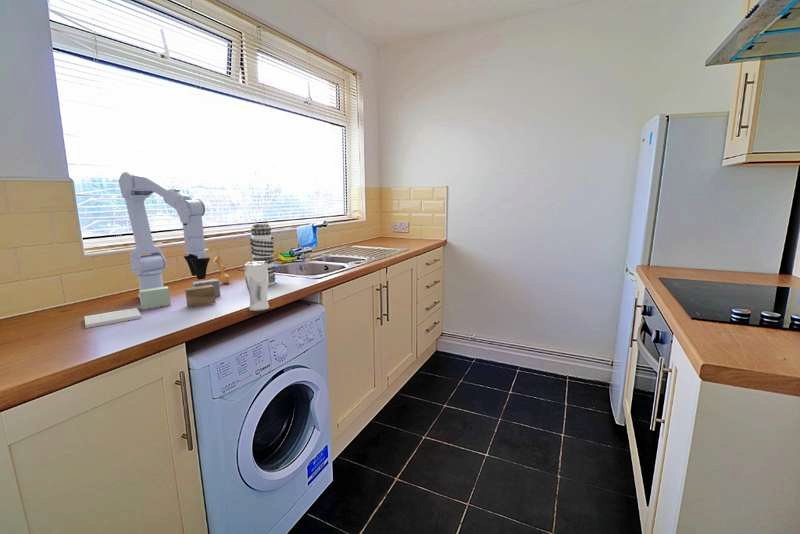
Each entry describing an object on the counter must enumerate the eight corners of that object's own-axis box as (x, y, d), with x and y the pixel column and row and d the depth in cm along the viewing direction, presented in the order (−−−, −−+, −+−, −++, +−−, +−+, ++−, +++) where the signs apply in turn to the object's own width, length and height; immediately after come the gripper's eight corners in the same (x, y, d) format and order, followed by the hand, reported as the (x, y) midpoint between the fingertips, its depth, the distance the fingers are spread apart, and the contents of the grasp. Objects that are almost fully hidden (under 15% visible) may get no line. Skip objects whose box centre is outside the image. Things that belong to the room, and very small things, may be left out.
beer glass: (264, 304, 127) (261, 260, 125) (274, 308, 122) (271, 263, 120) (244, 308, 123) (240, 263, 120) (253, 313, 118) (249, 266, 115)
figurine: (225, 285, 154) (222, 256, 152) (211, 285, 154) (208, 256, 152) (235, 281, 162) (232, 253, 160) (222, 281, 162) (219, 253, 160)
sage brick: (141, 307, 125) (138, 290, 124) (169, 303, 130) (166, 286, 129) (142, 310, 122) (140, 292, 121) (170, 305, 127) (168, 288, 126)
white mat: (84, 319, 113) (84, 316, 113) (137, 310, 121) (136, 307, 121) (85, 328, 105) (85, 324, 105) (141, 318, 114) (140, 315, 113)
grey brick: (194, 298, 136) (192, 282, 135) (217, 294, 141) (216, 278, 140) (196, 300, 133) (194, 283, 132) (220, 296, 138) (218, 280, 137)
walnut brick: (187, 305, 126) (185, 288, 125) (212, 301, 132) (211, 284, 130) (189, 308, 124) (187, 290, 123) (215, 303, 129) (213, 286, 128)
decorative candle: (261, 280, 163) (256, 222, 158) (280, 281, 161) (276, 222, 156) (248, 285, 154) (243, 224, 149) (269, 286, 152) (264, 224, 148)
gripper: (213, 237, 121) (217, 278, 123) (201, 234, 131) (205, 272, 134) (188, 239, 116) (193, 282, 119) (178, 235, 127) (183, 275, 129)
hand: (198, 277), depth 126 cm, fingers open, 7 cm apart
